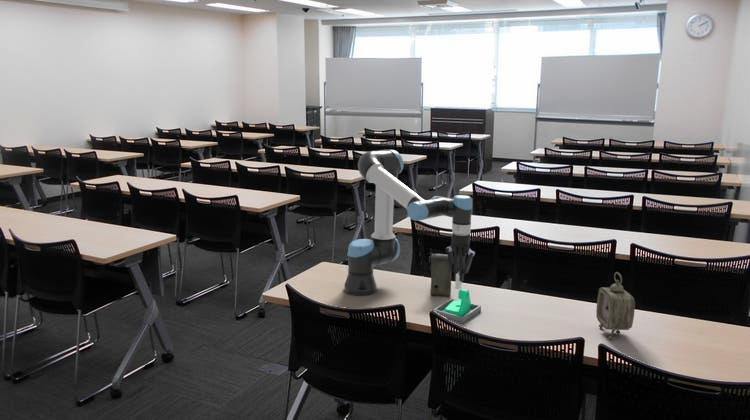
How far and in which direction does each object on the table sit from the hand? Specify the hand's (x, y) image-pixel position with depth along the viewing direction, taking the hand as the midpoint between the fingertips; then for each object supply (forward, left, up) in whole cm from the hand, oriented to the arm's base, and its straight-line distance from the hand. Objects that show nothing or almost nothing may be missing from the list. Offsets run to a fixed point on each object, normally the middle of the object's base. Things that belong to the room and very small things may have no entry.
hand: (458, 288), depth 235 cm
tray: (0, 0, -11) cm, 11 cm away
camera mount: (0, 0, -11) cm, 11 cm away
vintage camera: (-19, +19, -12) cm, 29 cm away
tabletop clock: (+58, +19, -11) cm, 62 cm away
